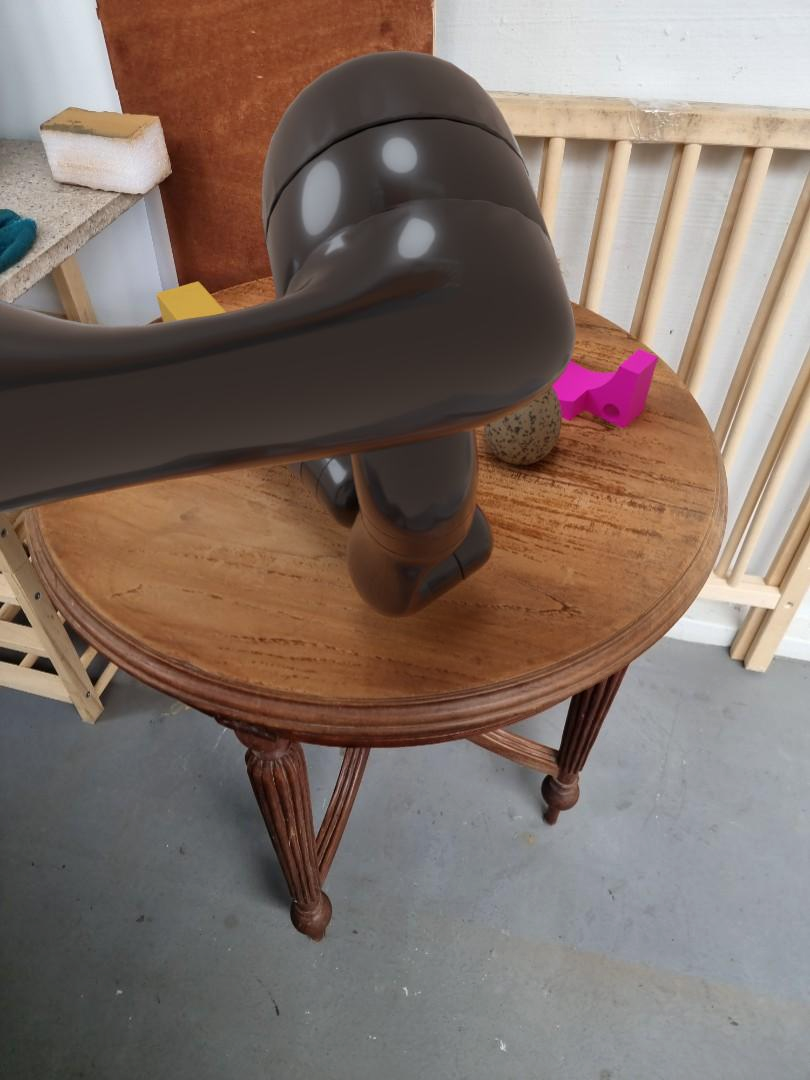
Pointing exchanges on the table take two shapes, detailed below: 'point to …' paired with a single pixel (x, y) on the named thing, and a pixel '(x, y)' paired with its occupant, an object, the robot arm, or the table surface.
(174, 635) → the table surface
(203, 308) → the yellow block
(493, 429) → the decorative egg
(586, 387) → the toy block
